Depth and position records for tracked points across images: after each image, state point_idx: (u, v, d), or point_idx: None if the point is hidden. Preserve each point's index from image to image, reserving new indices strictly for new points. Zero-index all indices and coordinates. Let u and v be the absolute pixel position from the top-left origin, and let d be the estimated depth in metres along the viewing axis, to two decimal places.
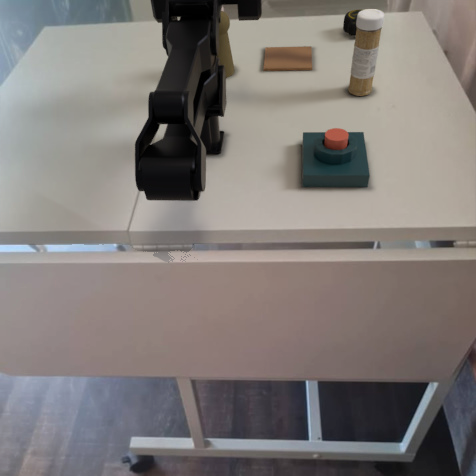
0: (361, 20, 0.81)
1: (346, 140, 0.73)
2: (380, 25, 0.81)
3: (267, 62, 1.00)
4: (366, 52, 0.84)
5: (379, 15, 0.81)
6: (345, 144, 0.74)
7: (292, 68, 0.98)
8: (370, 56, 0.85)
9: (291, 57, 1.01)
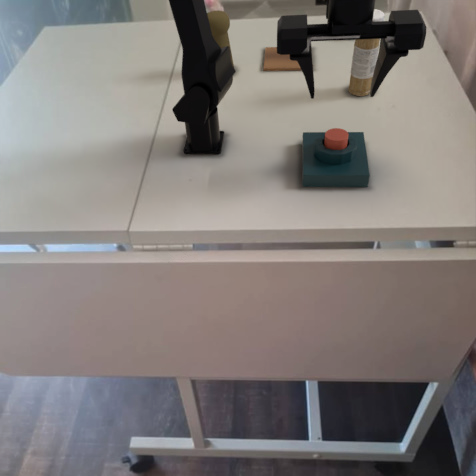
0: None
1: (346, 140, 0.73)
2: None
3: (267, 62, 1.00)
4: (366, 52, 0.84)
5: (379, 15, 0.81)
6: (345, 144, 0.74)
7: (292, 68, 0.98)
8: (370, 56, 0.85)
9: None
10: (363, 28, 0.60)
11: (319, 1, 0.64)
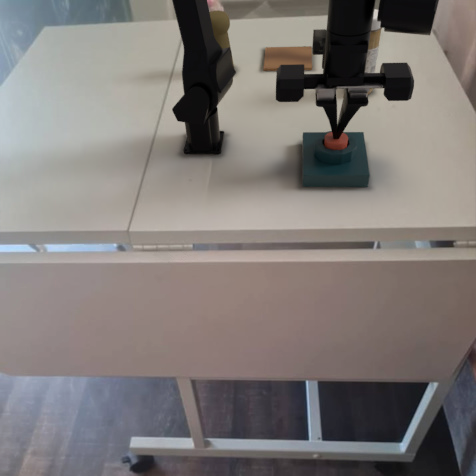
0: None
1: (346, 143, 0.74)
2: None
3: (267, 62, 1.00)
4: None
5: None
6: (345, 147, 0.74)
7: None
8: (370, 56, 0.85)
9: (291, 57, 1.01)
10: (355, 81, 0.64)
11: (316, 51, 0.69)
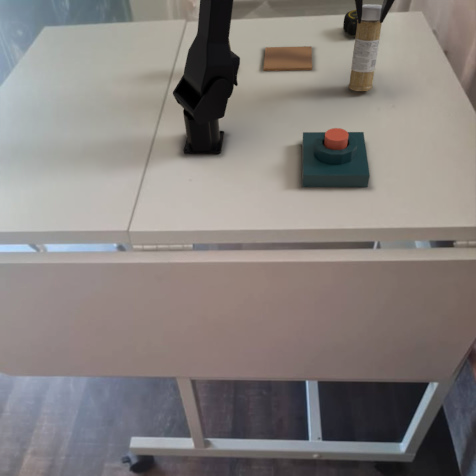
0: (362, 10, 0.82)
1: (346, 140, 0.73)
2: None
3: (267, 62, 1.00)
4: (367, 44, 0.85)
5: (380, 6, 0.82)
6: (345, 144, 0.74)
7: (292, 68, 0.98)
8: (371, 48, 0.85)
9: (291, 57, 1.01)
10: None
11: None
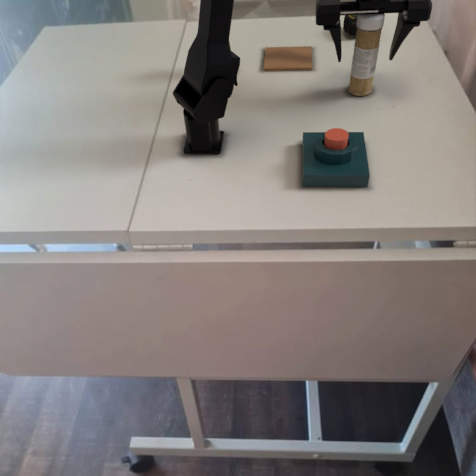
0: (361, 20, 0.81)
1: (346, 140, 0.73)
2: (380, 25, 0.81)
3: (267, 62, 1.00)
4: (366, 52, 0.85)
5: (379, 15, 0.81)
6: (345, 144, 0.74)
7: (292, 68, 0.98)
8: (371, 56, 0.85)
9: (291, 57, 1.01)
10: (383, 4, 0.78)
11: None
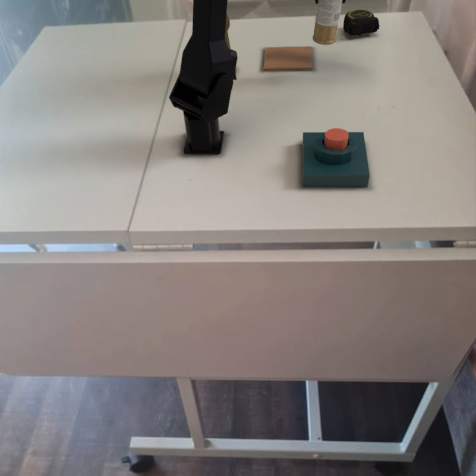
0: None
1: (346, 140, 0.73)
2: None
3: (267, 62, 1.00)
4: None
5: None
6: (345, 144, 0.74)
7: (292, 68, 0.98)
8: (334, 1, 0.84)
9: (291, 57, 1.01)
10: None
11: None
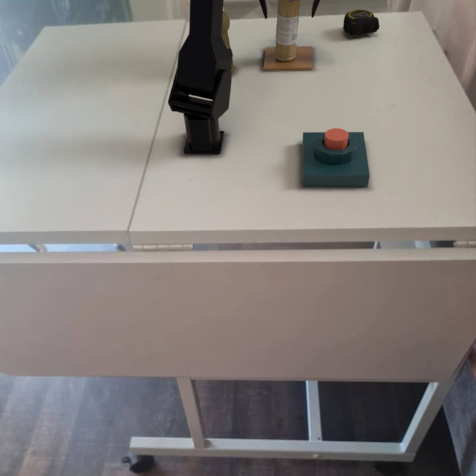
0: None
1: (346, 140, 0.73)
2: None
3: (267, 62, 1.00)
4: (286, 20, 0.93)
5: None
6: (345, 144, 0.74)
7: (292, 68, 0.98)
8: (291, 24, 0.94)
9: None
10: None
11: None
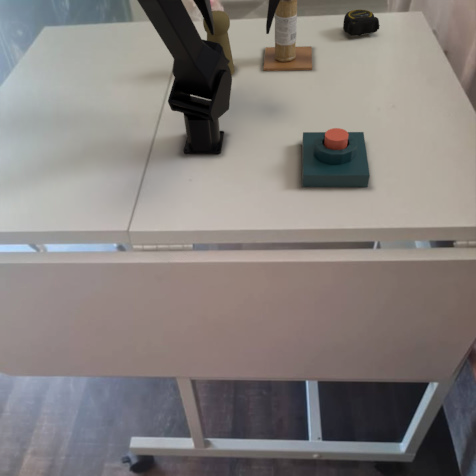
0: None
1: (346, 140, 0.73)
2: None
3: (267, 62, 1.00)
4: (284, 20, 0.94)
5: None
6: (345, 144, 0.74)
7: (292, 68, 0.98)
8: (289, 24, 0.94)
9: None
10: None
11: None
